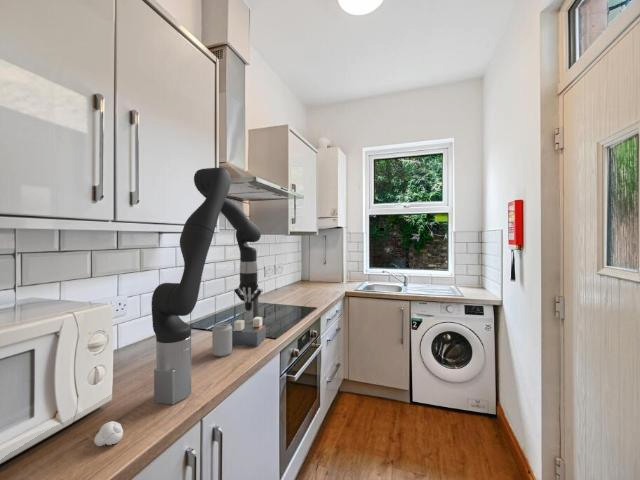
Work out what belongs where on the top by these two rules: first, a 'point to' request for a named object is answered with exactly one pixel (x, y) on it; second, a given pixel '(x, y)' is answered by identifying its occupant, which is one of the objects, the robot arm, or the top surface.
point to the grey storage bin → (249, 336)
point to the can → (222, 339)
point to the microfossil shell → (109, 434)
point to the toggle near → (239, 325)
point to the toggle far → (257, 322)
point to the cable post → (255, 307)
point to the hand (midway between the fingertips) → (248, 310)
